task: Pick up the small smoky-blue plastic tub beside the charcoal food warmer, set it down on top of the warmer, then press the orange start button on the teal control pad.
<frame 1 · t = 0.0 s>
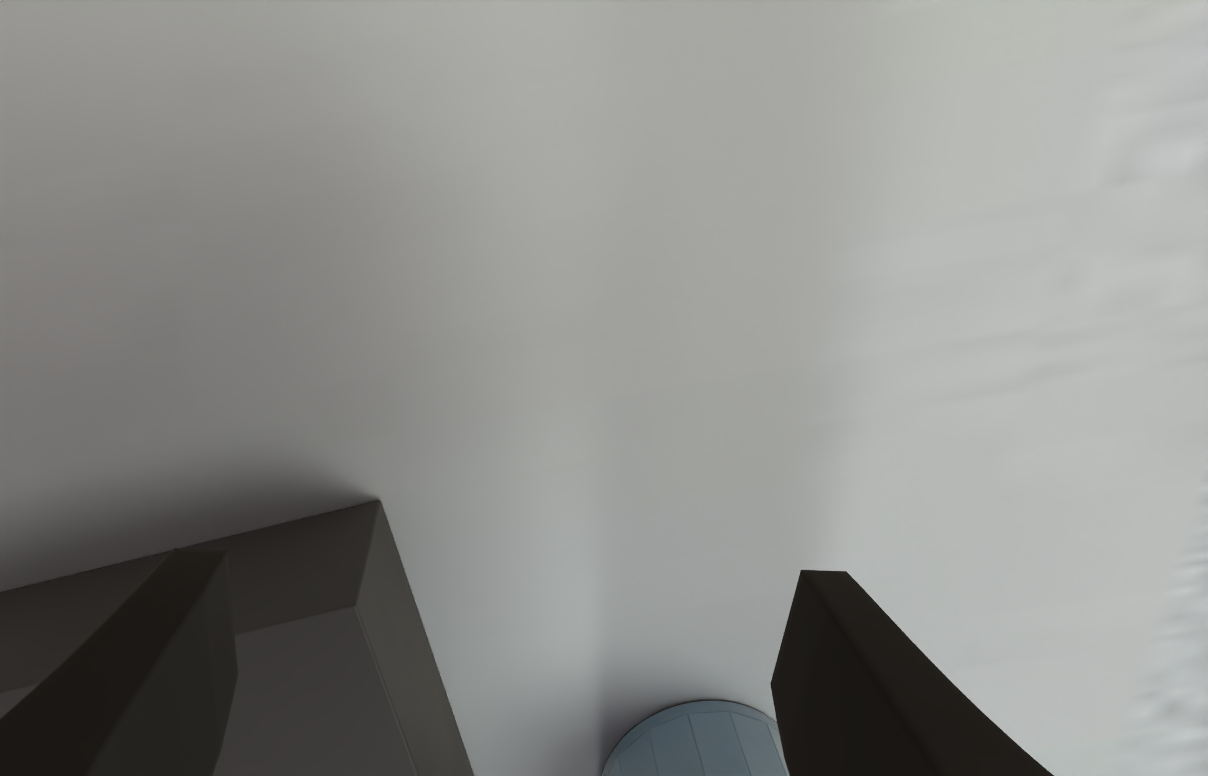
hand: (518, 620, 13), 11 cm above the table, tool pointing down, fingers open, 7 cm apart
warmer: (198, 713, 25), on the table
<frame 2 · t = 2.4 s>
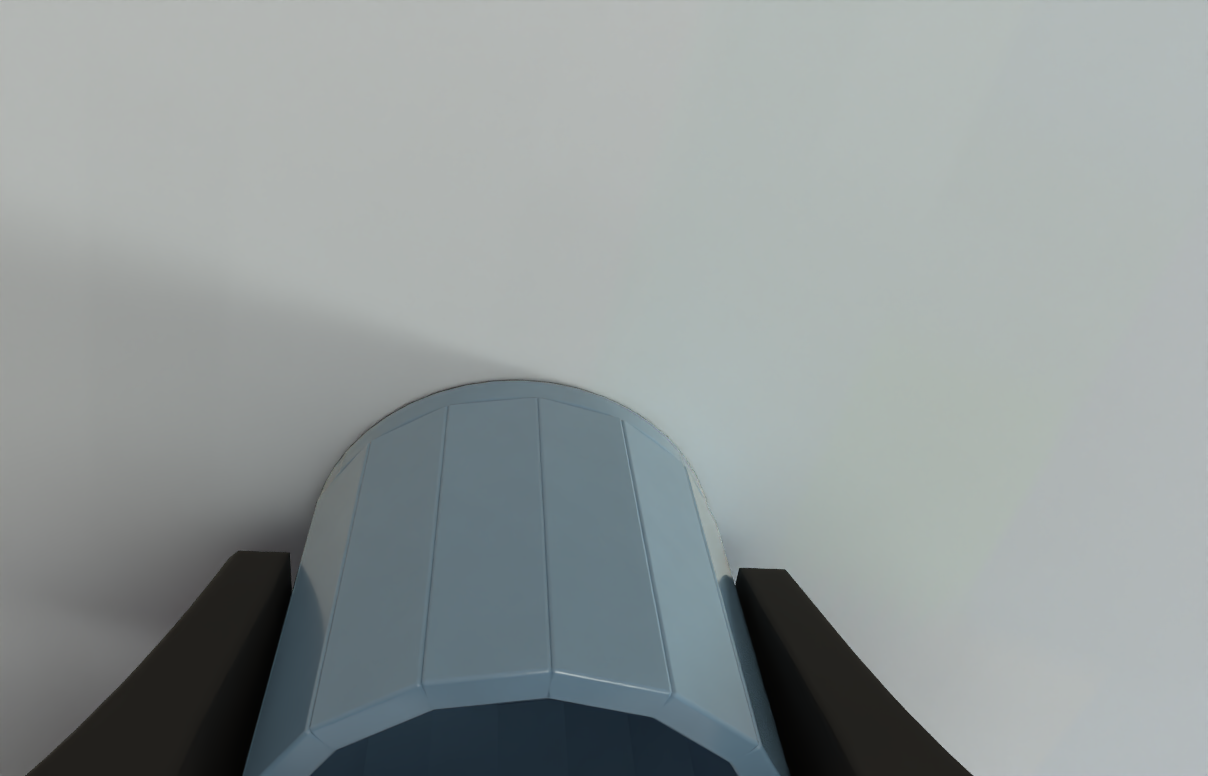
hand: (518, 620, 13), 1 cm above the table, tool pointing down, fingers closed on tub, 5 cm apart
tub: (514, 550, 14), on the table, touching gripper
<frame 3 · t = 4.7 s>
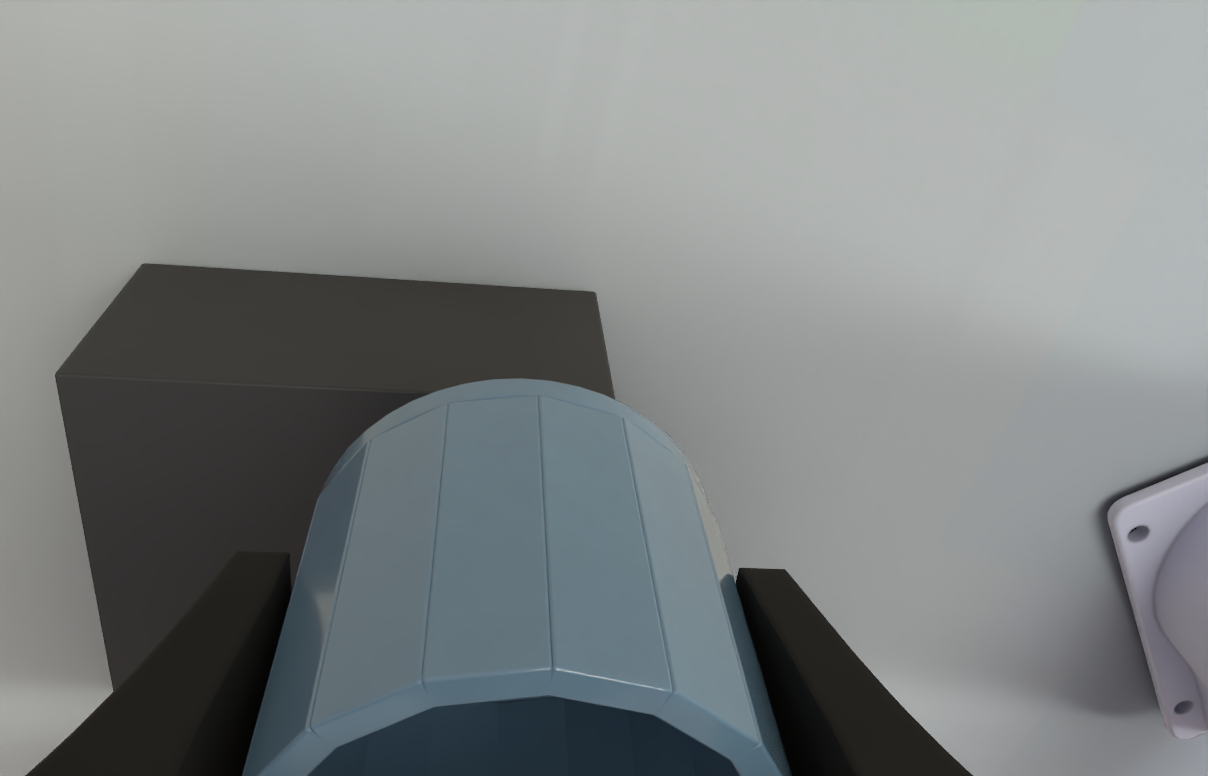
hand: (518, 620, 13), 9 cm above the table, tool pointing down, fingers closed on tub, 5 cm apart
tub: (515, 548, 14), point 8 cm above the table, touching gripper
warmer: (376, 515, 23), on the table
when the fingers open (6 cm above the table, at t = 6.8 s): tub stays where it is, resting on warmer.
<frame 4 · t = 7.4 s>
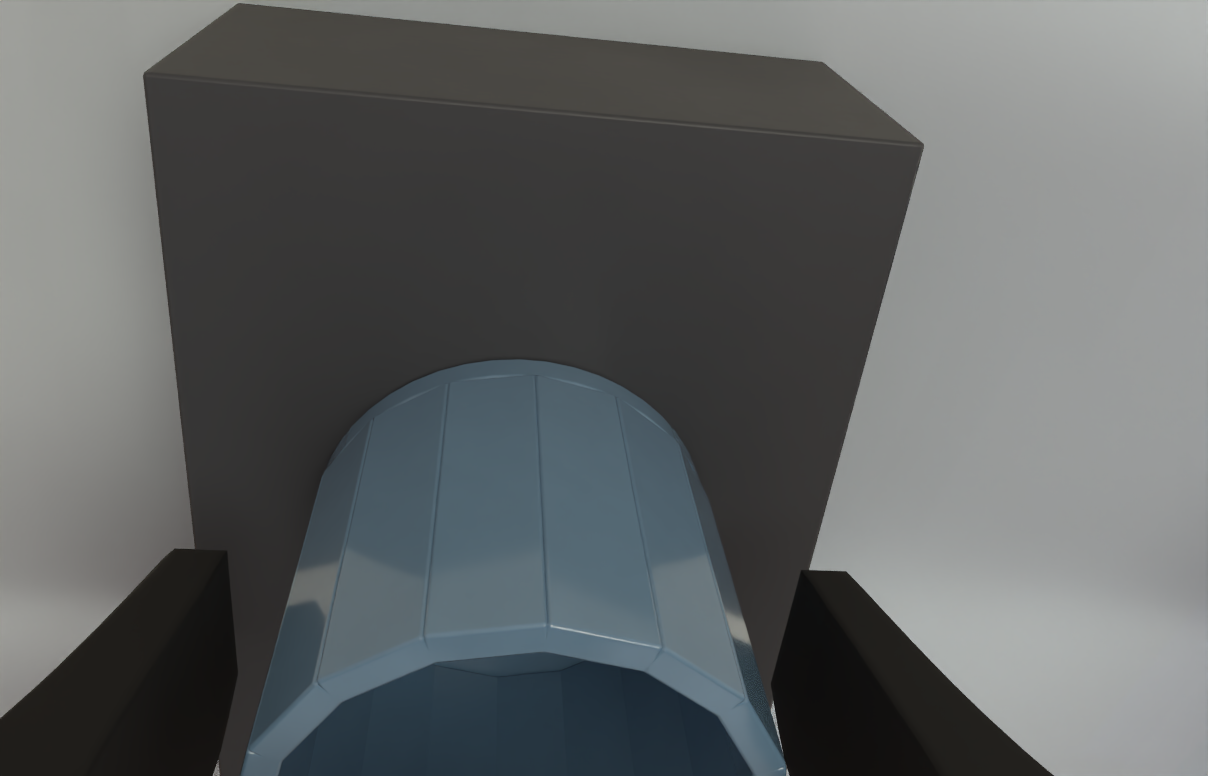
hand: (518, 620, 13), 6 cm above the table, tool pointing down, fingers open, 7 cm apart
tub: (513, 526, 14), point 4 cm above the table, touching warmer
warmer: (514, 374, 18), on the table
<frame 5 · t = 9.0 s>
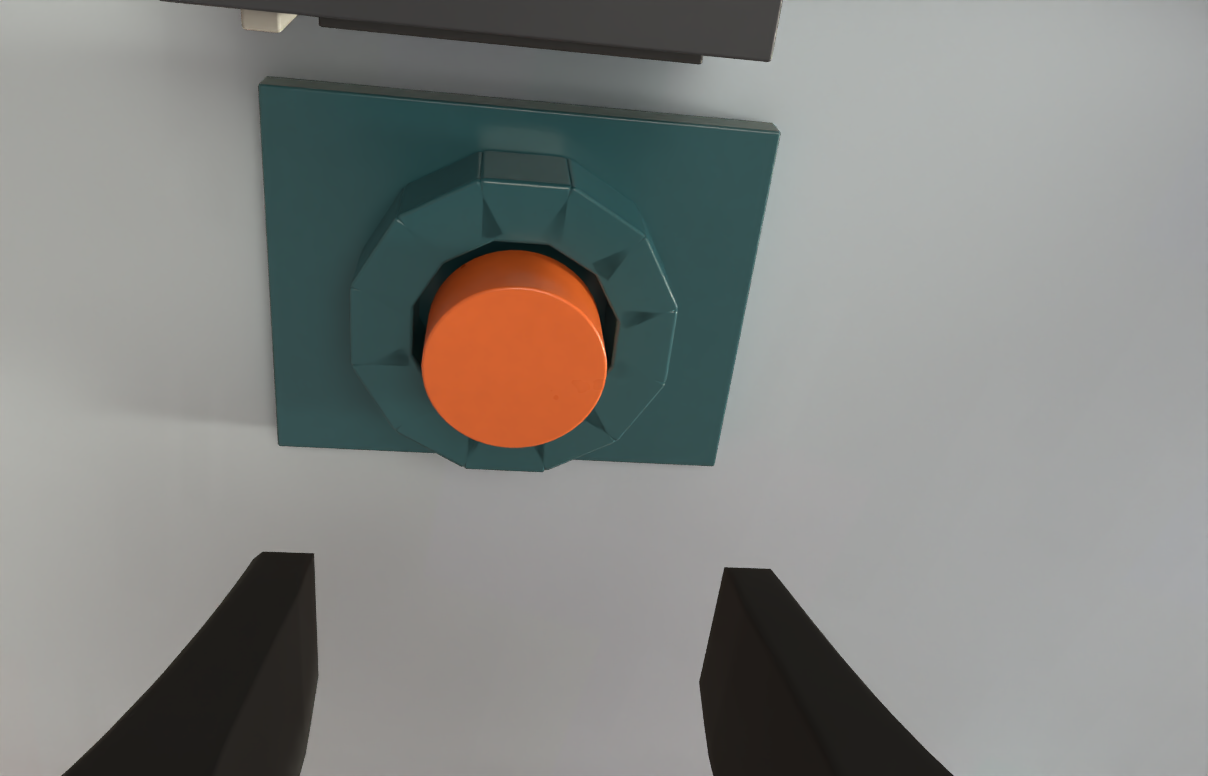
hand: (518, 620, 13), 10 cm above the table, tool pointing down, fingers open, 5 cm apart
control pad: (513, 285, 22), on the table
start button: (514, 349, 19), point 3 cm above the table, slide at 0.1 cm
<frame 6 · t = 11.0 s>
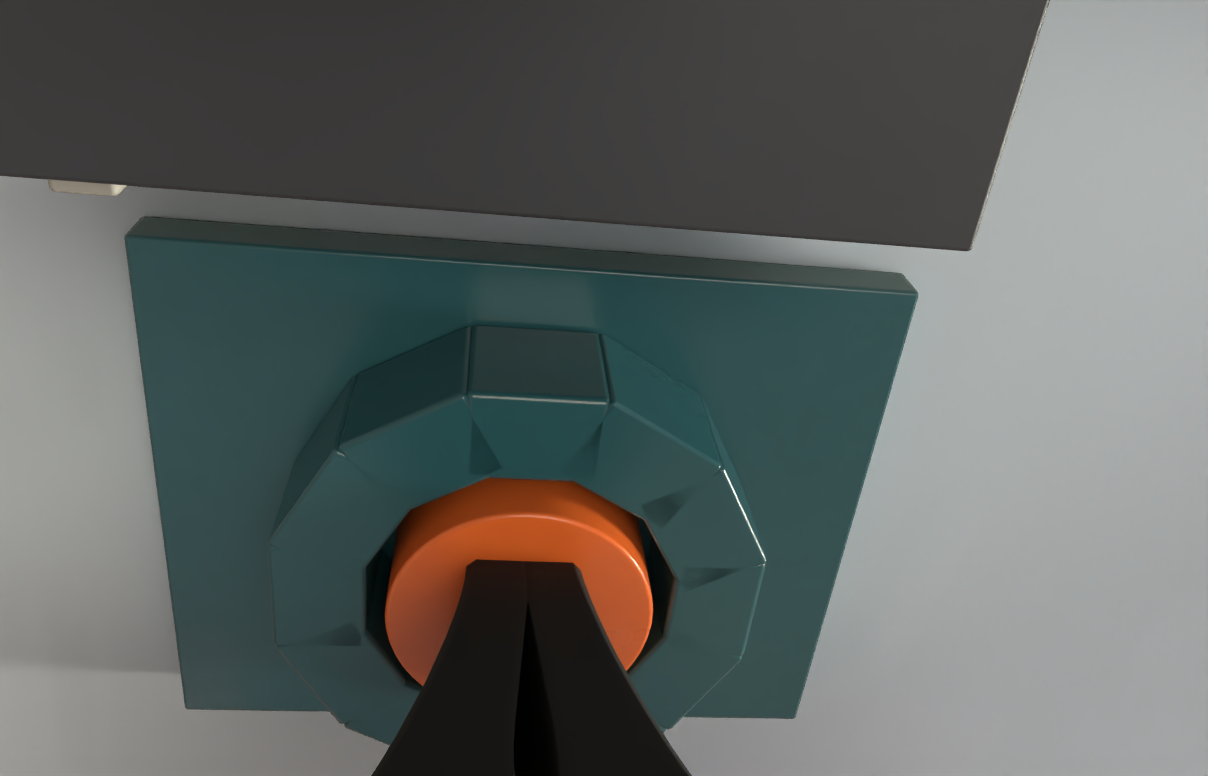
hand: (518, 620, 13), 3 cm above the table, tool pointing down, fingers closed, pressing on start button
control pad: (518, 492, 15), on the table
start button: (519, 576, 14), point 2 cm above the table, slide at -1.0 cm, touching gripper
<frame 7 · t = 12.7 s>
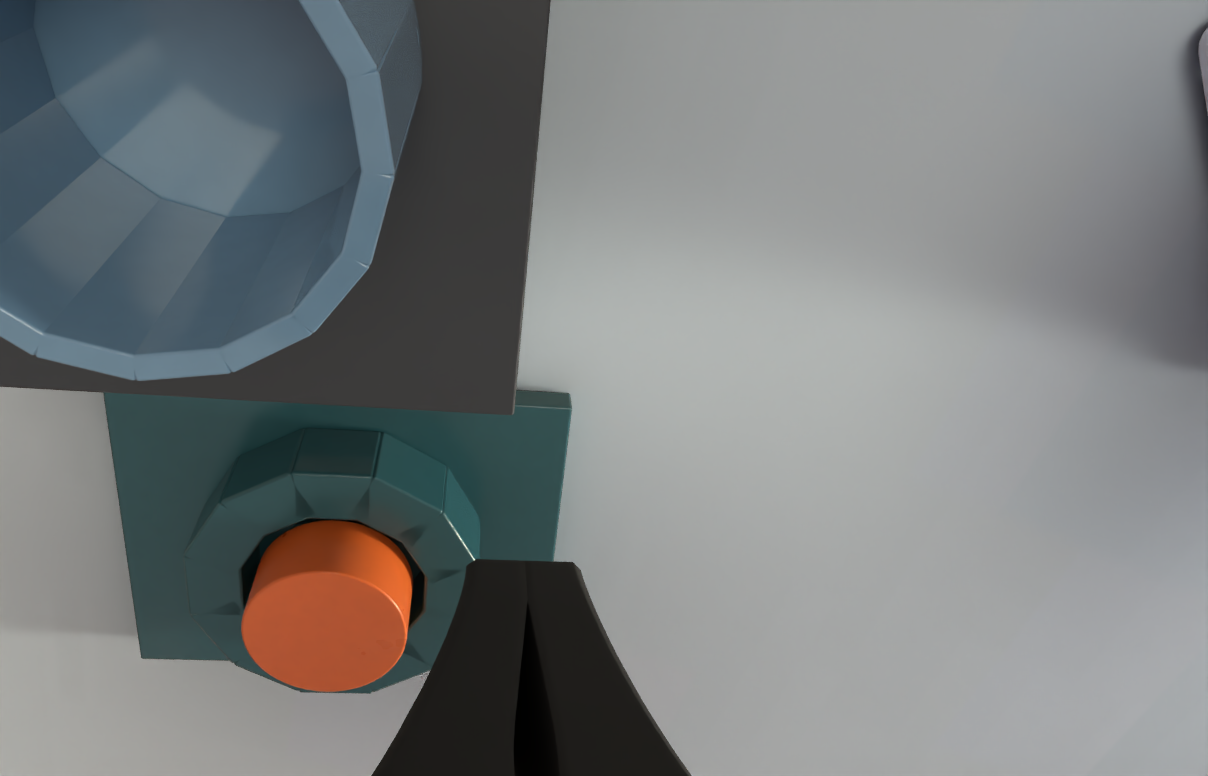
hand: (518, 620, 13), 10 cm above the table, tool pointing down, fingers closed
control pad: (348, 522, 24), on the table
tub: (229, 43, 15), point 4 cm above the table, touching warmer
start button: (330, 606, 22), point 3 cm above the table, slide at 0.1 cm
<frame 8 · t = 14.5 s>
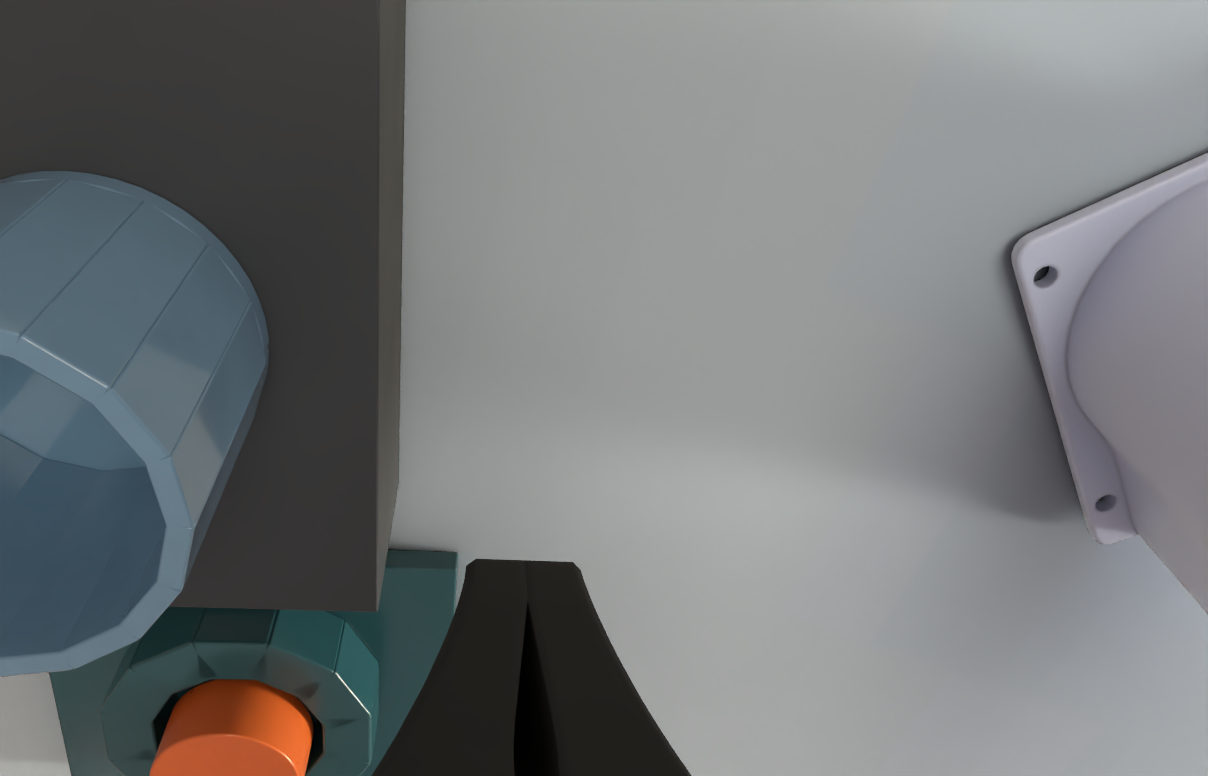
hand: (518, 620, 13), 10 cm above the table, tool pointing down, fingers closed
control pad: (260, 663, 27), on the table
tub: (98, 331, 17), point 4 cm above the table, touching warmer
start button: (234, 755, 24), point 3 cm above the table, slide at 0.1 cm
warmer: (178, 233, 21), on the table
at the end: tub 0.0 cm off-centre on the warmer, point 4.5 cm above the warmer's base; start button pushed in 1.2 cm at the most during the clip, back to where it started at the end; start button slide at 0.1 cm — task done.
